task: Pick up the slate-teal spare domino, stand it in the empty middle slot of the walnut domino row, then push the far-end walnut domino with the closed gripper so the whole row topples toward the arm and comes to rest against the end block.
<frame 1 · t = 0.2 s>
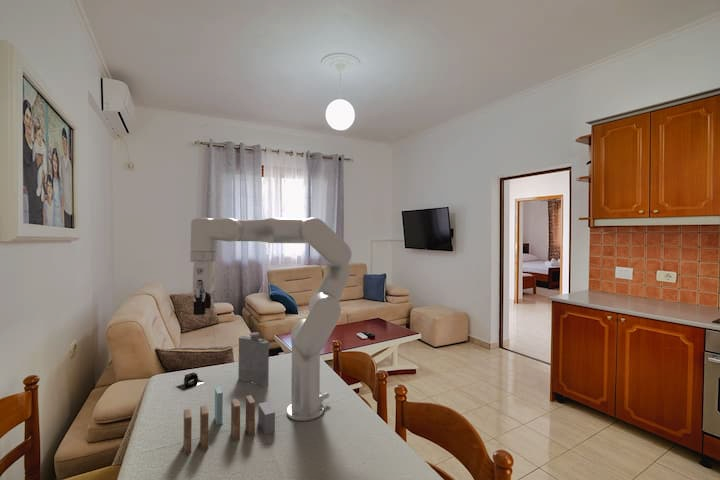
hand: (202, 311, 107), 36 cm above the table, tool pointing down, fingers open, 9 cm apart
hip flask: (253, 381, 141), on the table
domino 2: (204, 444, 97), on the table
end block: (266, 426, 107), on the table
domino 3: (235, 435, 102), on the table
domino 4: (250, 431, 104), on the table
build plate: (190, 386, 137), on the table
spare domino: (218, 420, 110), on the table
domino 1: (187, 448, 95), on the table
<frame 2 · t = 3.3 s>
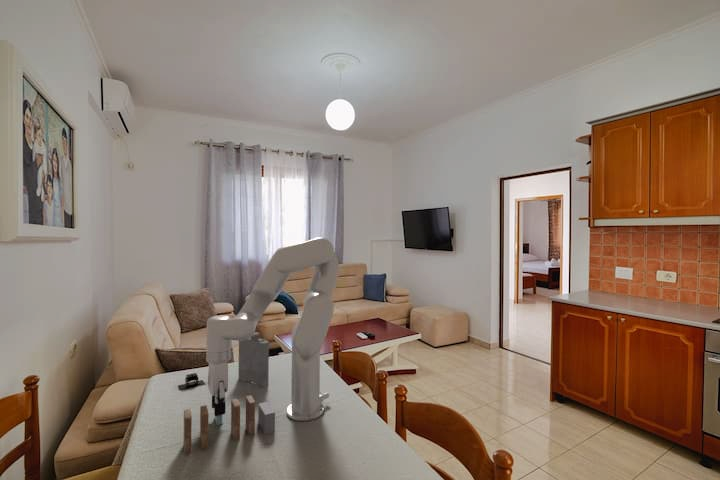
hand: (218, 410, 110), 3 cm above the table, tool pointing down, fingers closed on spare domino, 4 cm apart
spare domino: (218, 420, 110), on the table, touching gripper
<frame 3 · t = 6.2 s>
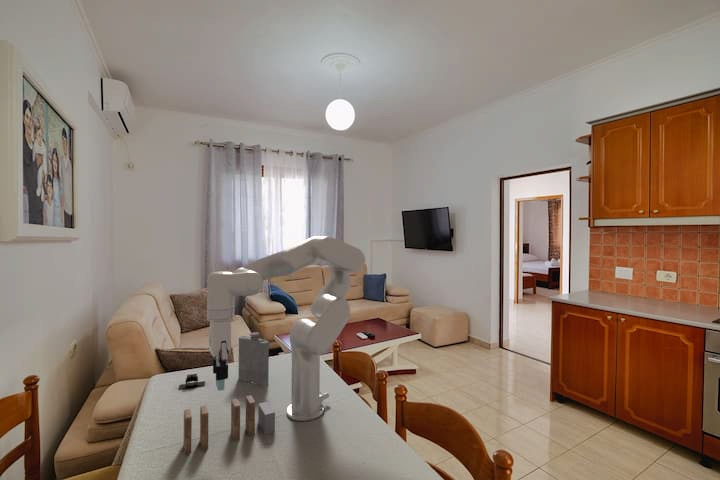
hand: (220, 375, 100), 19 cm above the table, tool pointing down, fingers closed on spare domino, 4 cm apart
spare domino: (220, 387, 100), point 16 cm above the table, touching gripper
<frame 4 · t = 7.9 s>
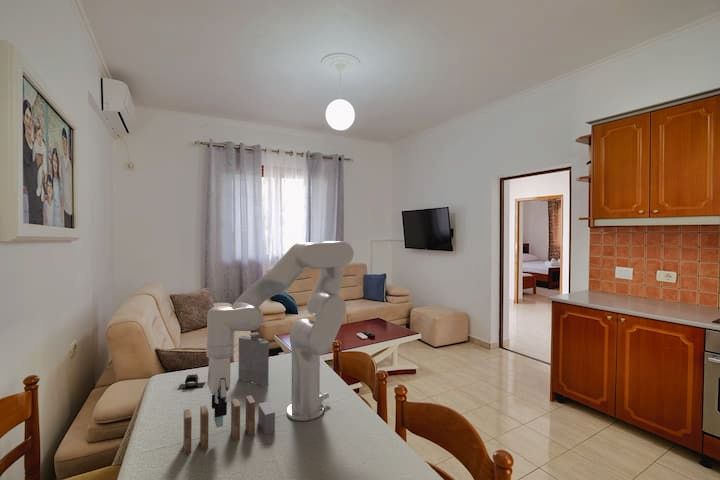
hand: (219, 410, 99), 9 cm above the table, tool pointing down, fingers closed on spare domino, 4 cm apart
spare domino: (218, 422, 99), point 5 cm above the table, touching gripper
when the fingers open (4 cm above the table, at t = 9.2 s): spare domino stays where it is, on the table.
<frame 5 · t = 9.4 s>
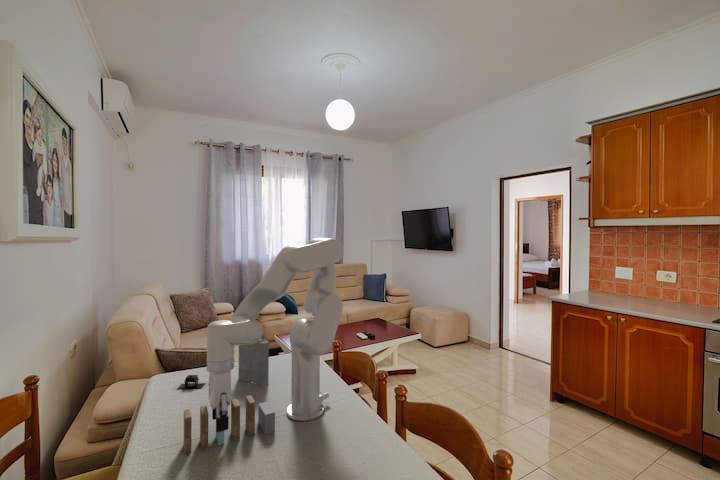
hand: (220, 423, 100), 5 cm above the table, tool pointing down, fingers open, 7 cm apart
spare domino: (219, 439, 100), on the table
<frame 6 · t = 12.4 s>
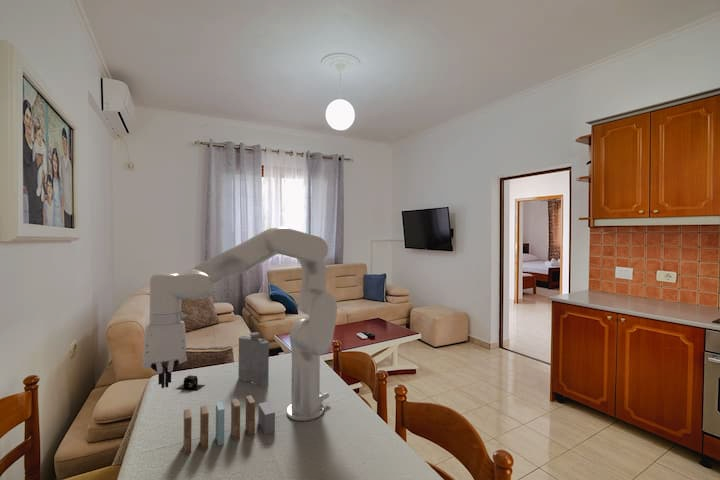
hand: (164, 385, 92), 19 cm above the table, tool pointing down, fingers closed
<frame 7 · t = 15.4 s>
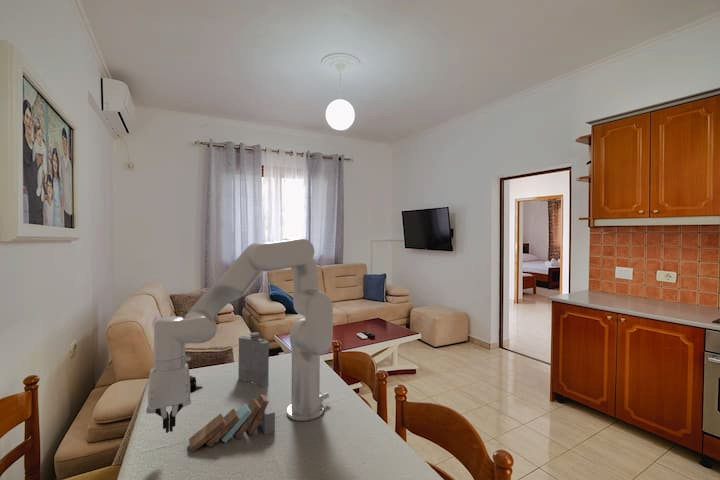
hand: (169, 429, 93), 7 cm above the table, tool pointing down, fingers closed
domino 2: (207, 441, 98), point 1 cm above the table, tilted 54°, touching domino 1, spare domino
domino 3: (236, 433, 102), on the table, tilted 38°, touching domino 4, spare domino
domino 4: (249, 430, 104), on the table, tilted 26°, touching domino 3, end block
spare domino: (222, 437, 100), point 1 cm above the table, tilted 46°, touching domino 2, domino 3
domino 1: (191, 445, 96), point 1 cm above the table, tilted 59°, touching domino 2
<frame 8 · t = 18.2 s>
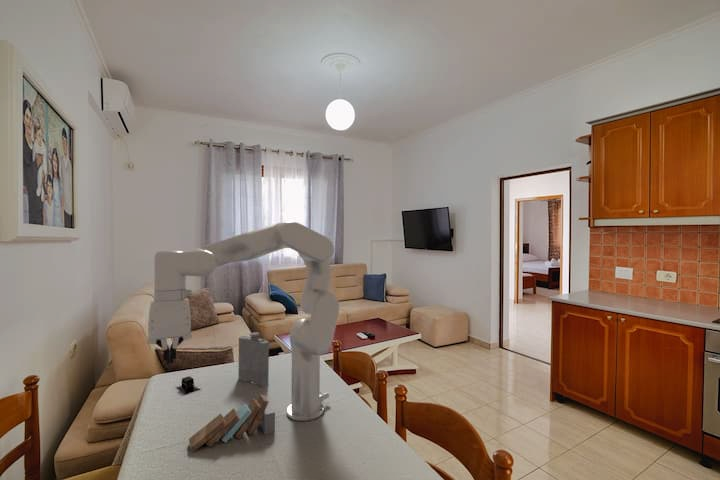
hand: (169, 362, 93), 25 cm above the table, tool pointing down, fingers closed
at the end: domino 4 tilted 26°; spare domino tilted 46°; spare domino inside the target area (1.4 cm from its centre), point 0.6 cm above the table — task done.
